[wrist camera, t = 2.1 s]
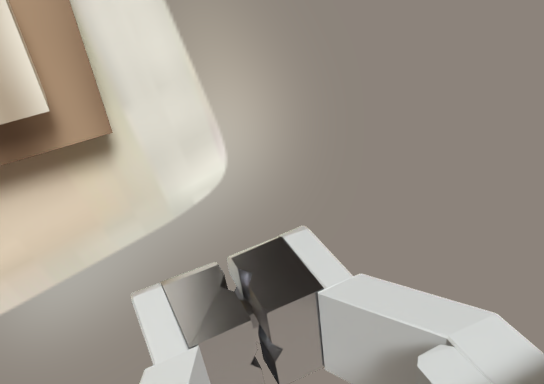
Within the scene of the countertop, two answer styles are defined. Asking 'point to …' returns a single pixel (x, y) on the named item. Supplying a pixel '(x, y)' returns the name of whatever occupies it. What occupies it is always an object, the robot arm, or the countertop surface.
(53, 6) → the bench plate
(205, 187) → the countertop surface
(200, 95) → the countertop surface
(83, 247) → the countertop surface
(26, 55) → the tile
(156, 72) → the countertop surface
